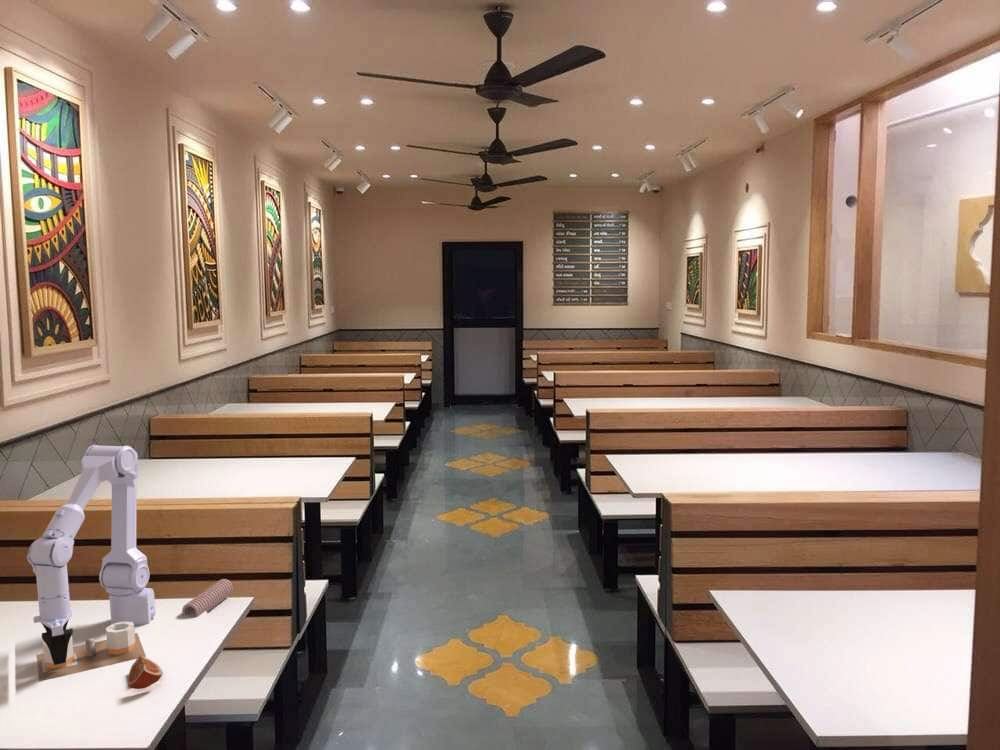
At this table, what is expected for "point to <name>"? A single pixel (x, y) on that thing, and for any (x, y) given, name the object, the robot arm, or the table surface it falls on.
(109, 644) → the seated sleeve
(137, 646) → the pin board
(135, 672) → the fruit slice
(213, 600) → the coil
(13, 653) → the table surface
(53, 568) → the robot arm
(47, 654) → the sleeve
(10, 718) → the table surface
